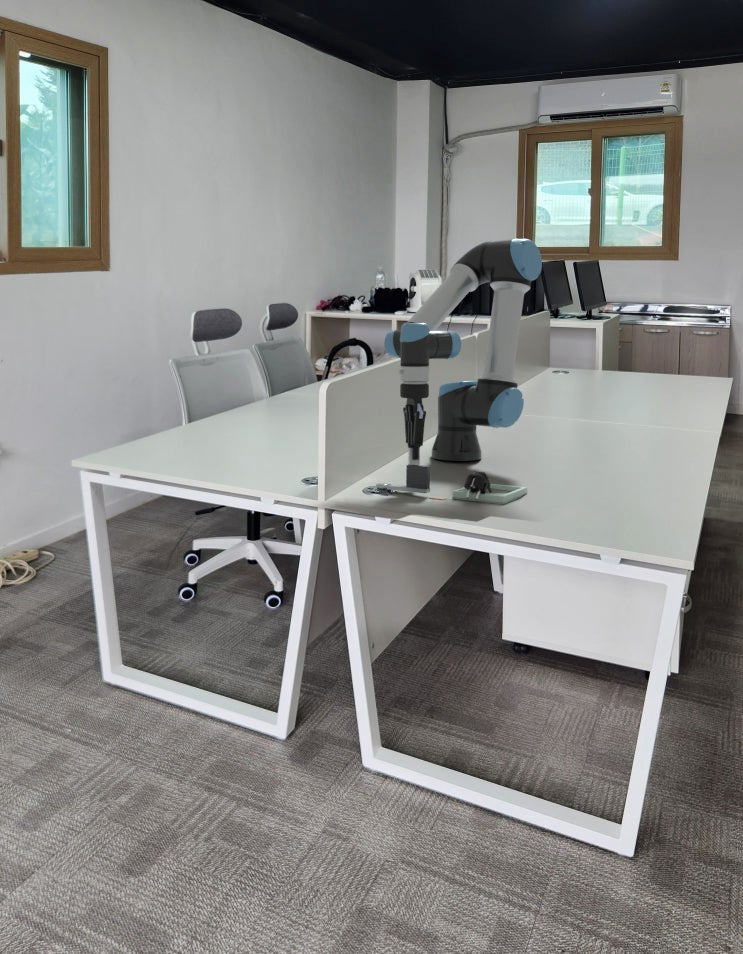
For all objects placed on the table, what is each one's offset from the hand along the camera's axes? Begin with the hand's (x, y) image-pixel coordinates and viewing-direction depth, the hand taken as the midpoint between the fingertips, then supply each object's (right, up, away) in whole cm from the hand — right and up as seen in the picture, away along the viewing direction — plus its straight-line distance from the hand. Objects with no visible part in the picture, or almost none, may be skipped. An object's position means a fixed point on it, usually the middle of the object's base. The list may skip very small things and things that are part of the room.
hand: (413, 471), depth 230 cm
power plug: (+19, -8, -6) cm, 21 cm away
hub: (-8, -6, -2) cm, 10 cm away
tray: (+20, -7, -6) cm, 22 cm away
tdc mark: (+6, -7, -10) cm, 13 cm away
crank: (-3, -5, -4) cm, 7 cm away
